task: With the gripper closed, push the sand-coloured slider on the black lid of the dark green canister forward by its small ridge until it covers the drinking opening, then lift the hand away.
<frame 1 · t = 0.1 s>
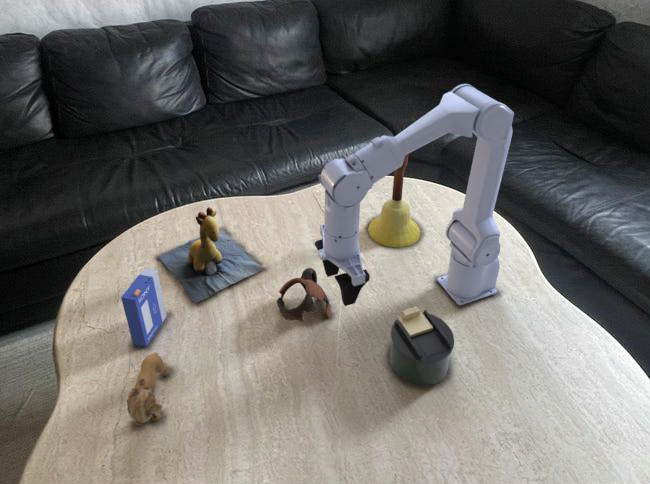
hand: (340, 288, 92), 10 cm above the table, tool pointing down, fingers open, 7 cm apart
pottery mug: (306, 308, 101), on the table
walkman: (150, 330, 97), on the table
stuffed giraffe: (209, 264, 112), on the table
slider: (415, 320, 89), point 8 cm above the table, slide at 0.0 cm
lion figurine: (154, 404, 83), on the table
canister: (418, 361, 90), on the table
handbell: (394, 231, 122), on the table
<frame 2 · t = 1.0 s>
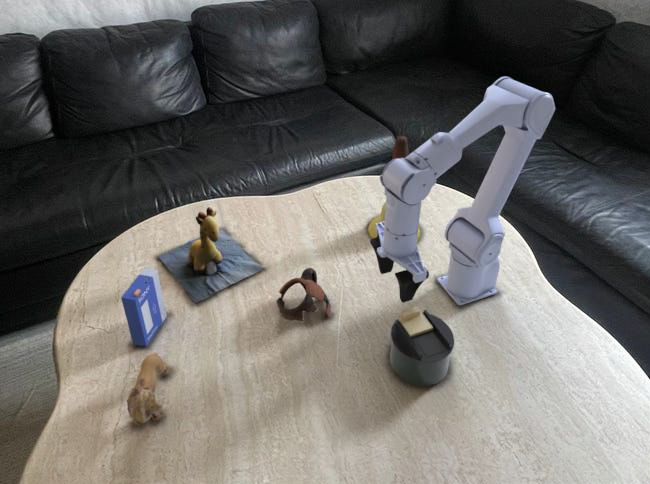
hand: (395, 285, 93), 9 cm above the table, tool pointing down, fingers open, 7 cm apart
nothing on the table moved.
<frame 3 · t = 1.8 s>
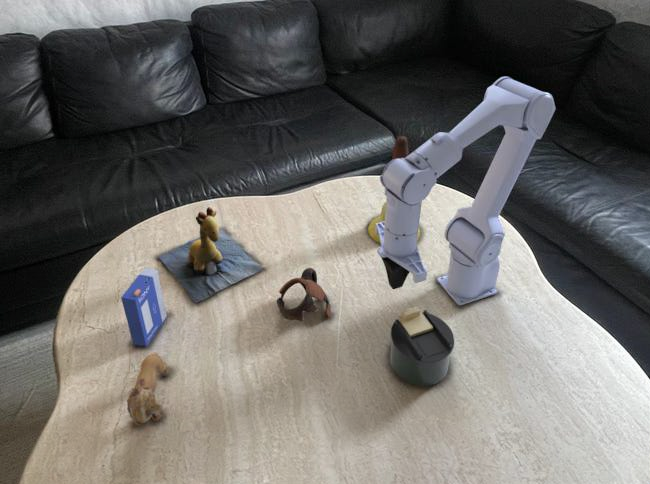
hand: (395, 285, 93), 9 cm above the table, tool pointing down, fingers closed
nothing on the table moved.
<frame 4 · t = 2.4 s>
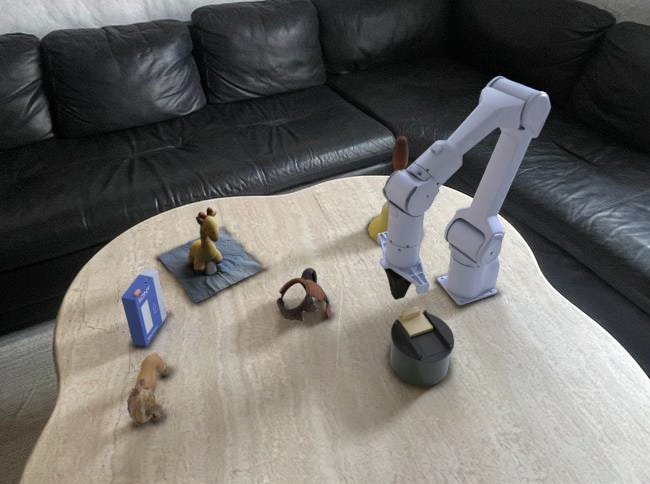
hand: (398, 295, 93), 8 cm above the table, tool pointing down, fingers closed
nothing on the table moved.
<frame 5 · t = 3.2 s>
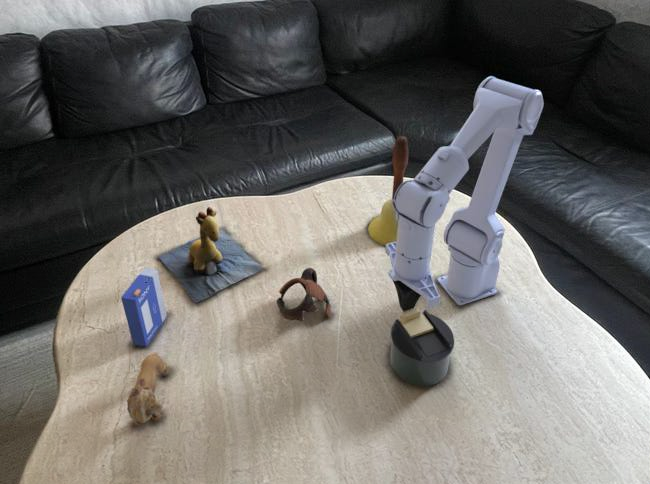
hand: (407, 308, 91), 8 cm above the table, tool pointing down, fingers closed
slider: (415, 321, 88), point 8 cm above the table, slide at 0.2 cm, touching gripper
everything else where it was.
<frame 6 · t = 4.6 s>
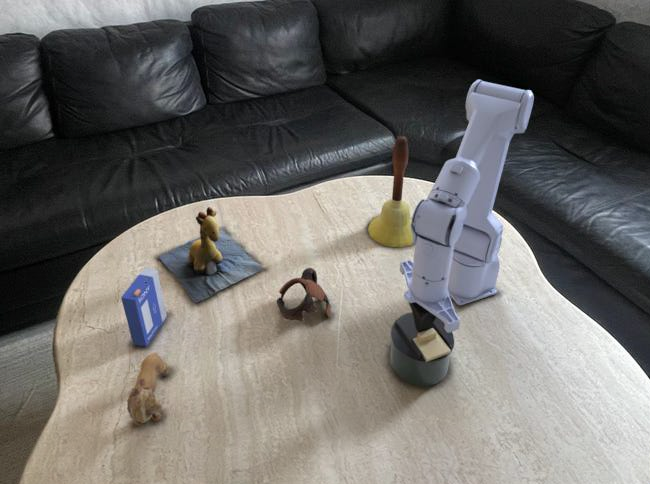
hand: (422, 329, 86), 8 cm above the table, tool pointing down, fingers closed
slider: (431, 343, 84), point 7 cm above the table, slide at 5.2 cm, touching gripper
everything else where it was.
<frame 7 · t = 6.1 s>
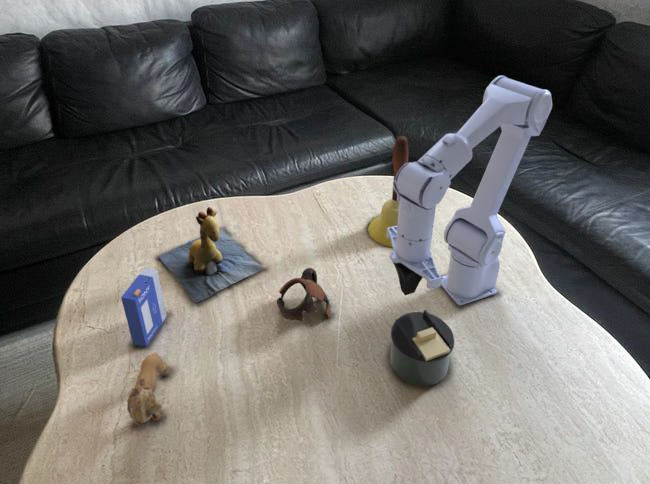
hand: (408, 291, 91), 10 cm above the table, tool pointing down, fingers closed
slider: (431, 342, 84), point 8 cm above the table, slide at 5.1 cm
everything else where it was.
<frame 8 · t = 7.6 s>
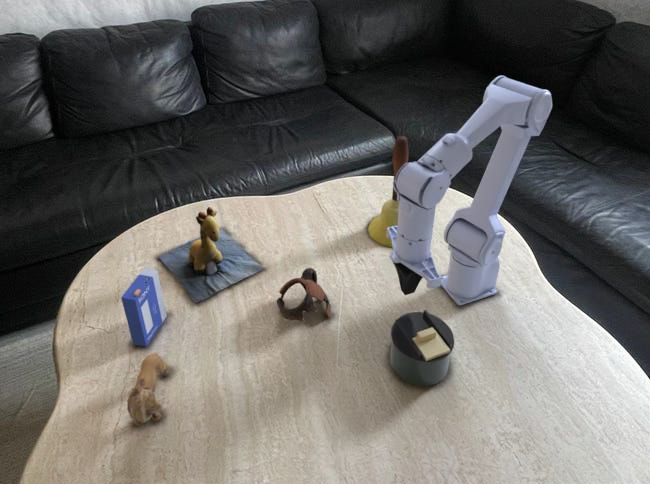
hand: (408, 291, 91), 10 cm above the table, tool pointing down, fingers closed
nothing on the table moved.
at the end: slider slide at 5.1 cm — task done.
